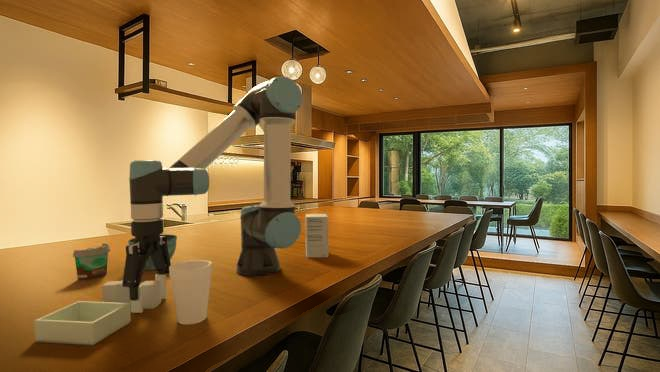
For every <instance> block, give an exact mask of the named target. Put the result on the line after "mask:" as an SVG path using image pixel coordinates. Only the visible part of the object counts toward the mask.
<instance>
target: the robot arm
mask: <svg viewBox="0 0 660 372" xmlns="http://www.w3.org/2000/svg"><path fill="white" fill-rule="evenodd" d="M302 104H303V93H302V90H301V88H300V86H299V85H298V84H297V83H296V81H295V80H294V79H292V78H290V77H288V76H284V75H282V76H277V77H276V76H275V77H271V78H269V80H267V81H264V82H262V83H259V84H257V85H255V86H254V87H253V88H251V89H250V90H249V91H248V93H246V95H244V96H243V97H242V98H241V99H240V100H239V101H238V102H237V103H236V104H235V105H234V106H233V107H232V108H233V109H232V112H231V113H230V114H229V115H227V116H226V117H225V118H224V119H223V120H221V121H220V122H219V123H218V124H217V125H216V126H215V127H214V128H212V129H211V130H210V131H209V132H208V133H207V134H206V135H205V136H203V137H202V138H201V139H200V140H199V141H198V142H197V143H195V144H194V145H193V146H192V147H191V148H190V149H189V150H187V151H186V152H185V153H184V154H183V155H182V156H181V157H180V158H178V160H176V161H175V162H174V163H173V164H172V165H171V166H170V167H169V168H168V167H163V164H162V163H163V162H162V161H161V160H152V159H151V160H150V159H149V160H148V159H147V160H146V159H145V160H144V159H143V160H142V159H141V160H140V159H139V160H132V161H131V162H130V164H129V178H128V179H129V181H128V182H129V197H130V199H129V200H130V219H131V220H133V221H131V222H130V232H131V233H130V234H131V236H133V238H135V243H134V245H129V244H127V245H126V246H125V253H126V255H125V256H126V257H125V263H124V269H123V275H122V277H123V278H122V281H123V283H122V286H123V287H129V289H130V300H131V308H130V313H136V314H137V313H139V314H142V313H143V312H144V308H143V295H142V286H140V284H141V283H142V278H143V274H144V272H145V270H144V268H145V264H146V261H147V260H148V259H149V256H151V259H152V261H153V264H154V266H155V268H156V269H155V271H156V274H154V279H155V280H154V281H161V299H166V298H167V274H169V266H171V265H172V263H171V259H170V257H169V252H168V247H167V236H160V235H163V234H164V220H163V219H162V218H163V217H164V205H163V204H164V203H163V202H164V201H163V197H168V196H169V197H170V196H171V197H172V196H197V195H205V194H206V193H207V192H208V191H209V188H210V176H209V175H210V174H209V172H208V171H207V168H209V166H210V165H211V164H212V163H213V162H214V161H216V160H217V159H218V158H219V157H220V156H221V155H222V154H223V153H225V152H226V150H227V149H229V148H230V146H232V145H233V144H234V143H235V142H236V141H237V140H238V139H239V138H240V137H242V135H244V134H245V132H247V131H248V130H249V129H254V128H256V126H257V125H259V124H262V125H263V201H262V202H260V203H259V205H251V206H244V207H242V208H241V210H240V216H239V217H240V238H241V239H240V241H241V242H240V243H241V249H240V253H239V256H238V259H237V263H236V273H237V274H239V275H243V276H254V277H255V276H264V275H265V276H266V275H271V274H275V273H276V272H279V271H280V269H281V263H280V260H279V257H278V253H277V250H276V249H288V248H289V247H292V246H293V245H294V244H295V243H296V242H297V241H298V239H299V238H300V235H301V233H302V222H301V220H300V218H299V217H298V216H297V214H296V205H295V203H294V202H292V200H291V179H292V178H291V174H292V173H291V171H292V170H291V161H292V159H291V157H292V155H291V154H292V146H291V145H292V141H291V140H292V139H291V138H292V126H293V125H294V124H295V123H296V122H297V119H296V117H297V115H296V114H297V113H296V112H297V111H298V110H299V109H300V108H301V107H302ZM139 255H140V256H139ZM165 264H167V265H165ZM135 281H136V282H135Z"/></svg>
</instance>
